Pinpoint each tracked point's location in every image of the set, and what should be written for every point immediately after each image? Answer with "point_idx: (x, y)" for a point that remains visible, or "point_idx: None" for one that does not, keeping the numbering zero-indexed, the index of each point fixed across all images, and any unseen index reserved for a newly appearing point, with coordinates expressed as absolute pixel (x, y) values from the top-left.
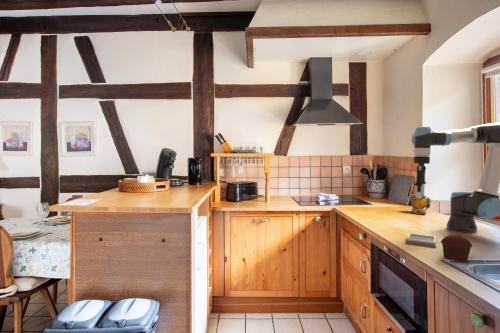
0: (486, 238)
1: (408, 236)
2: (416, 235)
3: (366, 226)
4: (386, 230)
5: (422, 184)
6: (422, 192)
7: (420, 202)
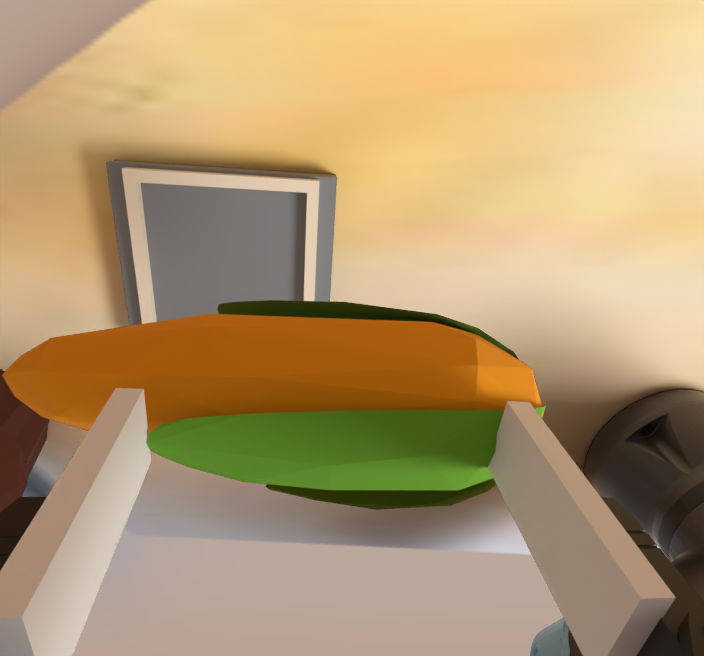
0: (489, 527)
1: (200, 178)
2: (305, 230)
3: None
4: None
5: (604, 641)
6: (516, 490)
7: (56, 417)
